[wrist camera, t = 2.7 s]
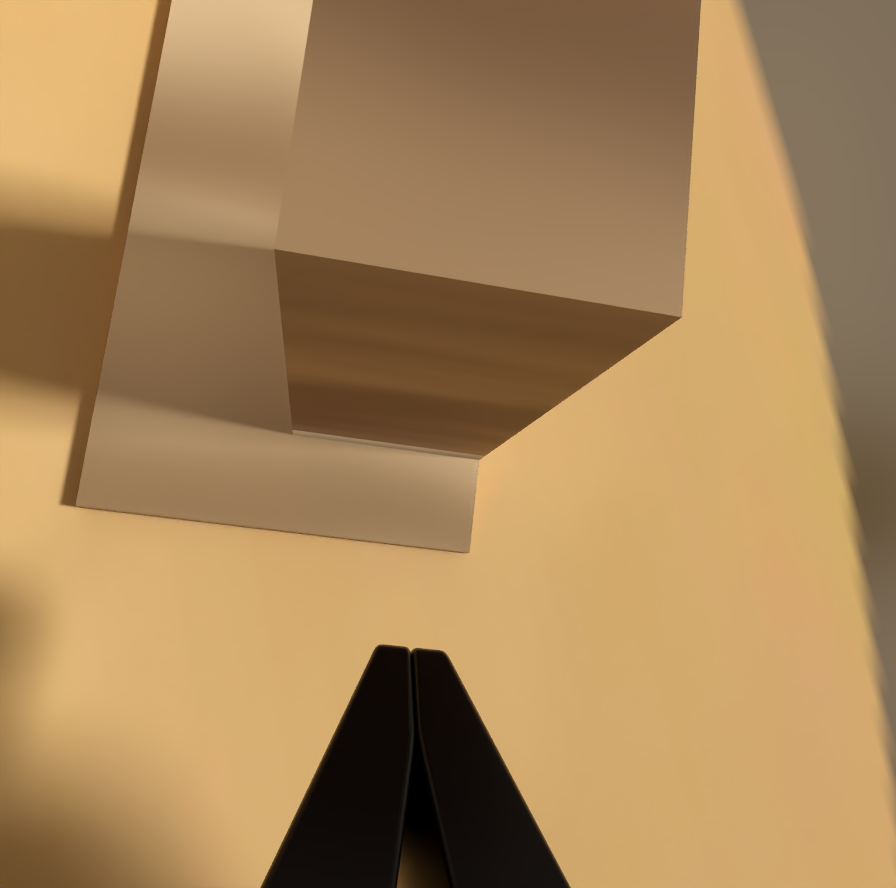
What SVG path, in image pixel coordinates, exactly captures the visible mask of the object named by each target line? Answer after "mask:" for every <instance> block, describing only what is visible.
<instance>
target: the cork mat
mask: <svg viewBox="0 0 896 888" xmlns="http://www.w3.org/2000/svg"><path fill="white" fill-rule="evenodd" d="M312 4H313V0H172V2H171V7H170V12H169V18H168V23H167V28H166V33H165V39H164V44H163V49H162V54H161V60H160V65H159V70H158V75H157V81H156V86H155V91H154V96H153V102H152V107H151V112H150V117H149V122H148V128H147V133H146V138H145V143H144V149H143V154H142V159H141V164H140V170H139V175H138V180H137V185H136V191H135V196H134V201H133V206H132V212H131V217H130V222H129V227H128V233H127V238H126V243H125V248H124V253H123V259H122V264H121V269H120V274H119V280H118V285H117V290H116V295H115V301H114V306H113V311H112V316H111V322H110V327H109V332H108V337H107V343H106V348H105V353H104V358H103V363H102V369H101V374H100V379H99V384H98V390H97V395H96V400H95V405H94V411H93V416H92V421H91V426H90V432H89V437H88V442H87V447H86V453H85V458H84V463H83V468H82V474H81V479H80V484H79V489H78V494H77V500H76V505H75V506H78V507H82V508H90V509H98V510H107V511H115V512H124V513H132V514H140V515H149V516H157V517H166V518H174V519H182V520H191V521H199V522H208V523H216V524H225V525H233V526H241V527H250V528H258V529H267V530H275V531H283V532H292V533H300V534H309V535H317V536H325V537H334V538H342V539H351V540H359V541H367V542H376V543H384V544H393V545H401V546H410V547H418V548H426V549H435V550H443V551H452V552H460V553H469V552H470V542H471V532H472V523H473V513H474V504H475V494H476V484H477V475H478V465H479V460H475V459H467V458H460V457H453V456H445V455H438V454H431V453H423V452H416V451H408V450H401V449H394V448H386V447H379V446H372V445H364V444H357V443H349V442H342V441H335V440H327V439H320V438H313V437H305V436H298V435H293V431H292V421H291V411H290V401H289V391H288V381H287V371H286V361H285V352H284V342H283V332H282V322H281V312H280V302H279V292H278V282H277V272H276V262H275V252H274V247H275V241H276V234H277V228H278V221H279V215H280V209H281V202H282V196H283V189H284V183H285V177H286V170H287V164H288V157H289V151H290V144H291V138H292V132H293V125H294V119H295V112H296V106H297V100H298V93H299V87H300V80H301V74H302V68H303V61H304V55H305V48H306V42H307V36H308V29H309V23H310V16H311V10H312Z"/></svg>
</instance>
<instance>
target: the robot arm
mask: <svg viewBox="0 0 896 888" xmlns="http://www.w3.org/2000/svg"><path fill="white" fill-rule="evenodd" d="M261 888H570V886H569V884H568V882H567V880H566V878H565V876H564V874H563V872H562V871H561V869H560V867H559V865H558V863H557V861H556V859H555V857H554V855H553V853H552V852H551V850H550V848H549V846H548V844H547V842H546V840H545V838H544V836H543V835H542V833H541V831H540V829H539V827H538V825H537V823H536V821H535V819H534V818H533V816H532V814H531V812H530V810H529V808H528V806H527V804H526V802H525V800H524V799H523V797H522V795H521V793H520V791H519V789H518V787H517V785H516V783H515V782H514V780H513V778H512V776H511V774H510V772H509V770H508V768H507V766H506V765H505V763H504V761H503V759H502V757H501V755H500V753H499V751H498V749H497V748H496V746H495V744H494V742H493V740H492V738H491V736H490V734H489V732H488V730H487V729H486V727H485V725H484V723H483V721H482V719H481V717H480V715H479V713H478V712H477V710H476V708H475V706H474V704H473V702H472V700H471V698H470V696H469V695H468V693H467V691H466V689H465V687H464V685H463V683H462V681H461V679H460V678H459V676H458V674H457V672H456V670H455V668H454V666H453V664H452V662H451V660H450V659H449V657H448V655H447V654H446V653H445V652H443V651H440V650H432V649H422V648H415V649H413V650H412V651H411V652H410V650H409V649H408V648H407V647H402V646H392V645H378V646H377V647H376V648H375V649H374V651H373V653H372V655H371V658H370V660H369V662H368V664H367V666H366V668H365V670H364V672H363V674H362V676H361V678H360V681H359V683H358V685H357V687H356V689H355V691H354V693H353V695H352V697H351V699H350V702H349V704H348V706H347V708H346V710H345V712H344V714H343V716H342V718H341V720H340V722H339V725H338V727H337V729H336V731H335V733H334V735H333V737H332V739H331V741H330V743H329V745H328V748H327V750H326V752H325V754H324V756H323V758H322V760H321V762H320V764H319V766H318V768H317V771H316V773H315V775H314V777H313V779H312V781H311V783H310V785H309V787H308V789H307V791H306V794H305V796H304V798H303V800H302V802H301V804H300V806H299V808H298V810H297V812H296V815H295V817H294V819H293V821H292V823H291V825H290V827H289V829H288V831H287V833H286V835H285V838H284V840H283V842H282V844H281V846H280V848H279V850H278V852H277V854H276V856H275V858H274V861H273V863H272V865H271V867H270V869H269V871H268V873H267V875H266V877H265V879H264V881H263V884H262V886H261Z"/></svg>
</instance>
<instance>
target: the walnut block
mask: <svg viewBox="0 0 896 888" xmlns="http://www.w3.org/2000/svg"><path fill="white" fill-rule="evenodd" d="M700 8H701V0H313V4H312V10H311V16H310V23H309V29H308V36H307V42H306V48H305V55H304V61H303V68H302V74H301V80H300V87H299V93H298V100H297V106H296V112H295V119H294V125H293V132H292V138H291V144H290V151H289V157H288V164H287V170H286V177H285V183H284V189H283V196H282V202H281V209H280V215H279V221H278V228H277V234H276V241H275V247H274V252H275V262H276V272H277V282H278V292H279V302H280V312H281V322H282V332H283V342H284V352H285V361H286V371H287V381H288V391H289V401H290V411H291V421H292V431H293V435H298V436H305V437H313V438H320V439H327V440H335V441H342V442H349V443H357V444H364V445H372V446H379V447H386V448H394V449H401V450H408V451H416V452H423V453H431V454H438V455H445V456H453V457H460V458H467V459H475V460H480V459H481V458H483V457H484V456H485V455H487V454H488V453H490V452H491V451H493V450H494V449H495V448H497V447H498V446H500V445H501V444H503V443H504V442H505V441H507V440H508V439H510V438H511V437H512V436H514V435H515V434H517V433H518V432H520V431H521V430H522V429H524V428H525V427H527V426H528V425H529V424H531V423H532V422H534V421H535V420H537V419H538V418H539V417H541V416H542V415H544V414H545V413H546V412H548V411H549V410H551V409H552V408H554V407H555V406H556V405H558V404H559V403H561V402H562V401H563V400H565V399H566V398H568V397H569V396H571V395H572V394H573V393H575V392H576V391H578V390H579V389H580V388H582V387H583V386H585V385H586V384H588V383H589V382H590V381H592V380H593V379H595V378H596V377H598V376H599V375H600V374H602V373H603V372H605V371H606V370H607V369H609V368H610V367H612V366H613V365H615V364H616V363H617V362H619V361H620V360H622V359H623V358H624V357H626V356H627V355H629V354H630V353H632V352H633V351H634V350H636V349H637V348H639V347H640V346H641V345H643V344H644V343H646V342H647V341H649V340H650V339H651V338H653V337H654V336H656V335H657V334H658V333H660V332H661V331H663V330H664V329H666V328H667V327H668V326H670V325H671V324H673V323H674V322H675V321H677V320H678V319H680V318H681V317H682V304H683V288H684V271H685V255H686V238H687V222H688V205H689V189H690V173H691V156H692V140H693V123H694V107H695V90H696V74H697V57H698V41H699V25H700Z"/></svg>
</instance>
